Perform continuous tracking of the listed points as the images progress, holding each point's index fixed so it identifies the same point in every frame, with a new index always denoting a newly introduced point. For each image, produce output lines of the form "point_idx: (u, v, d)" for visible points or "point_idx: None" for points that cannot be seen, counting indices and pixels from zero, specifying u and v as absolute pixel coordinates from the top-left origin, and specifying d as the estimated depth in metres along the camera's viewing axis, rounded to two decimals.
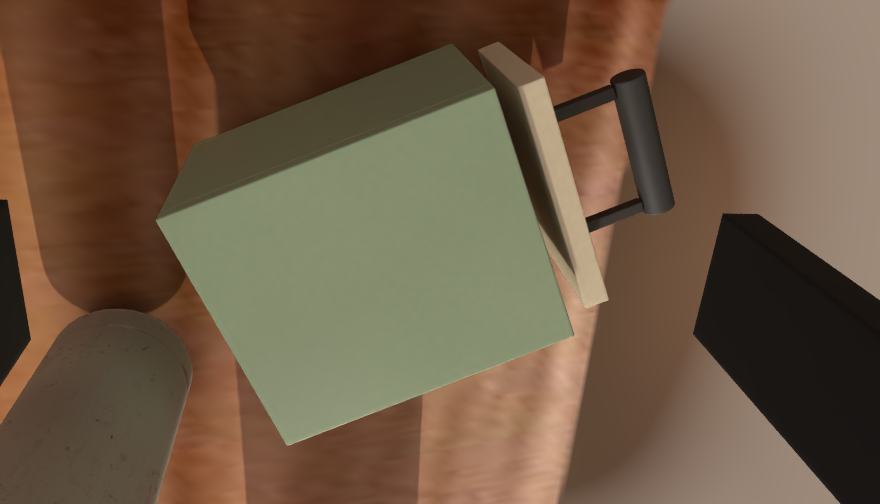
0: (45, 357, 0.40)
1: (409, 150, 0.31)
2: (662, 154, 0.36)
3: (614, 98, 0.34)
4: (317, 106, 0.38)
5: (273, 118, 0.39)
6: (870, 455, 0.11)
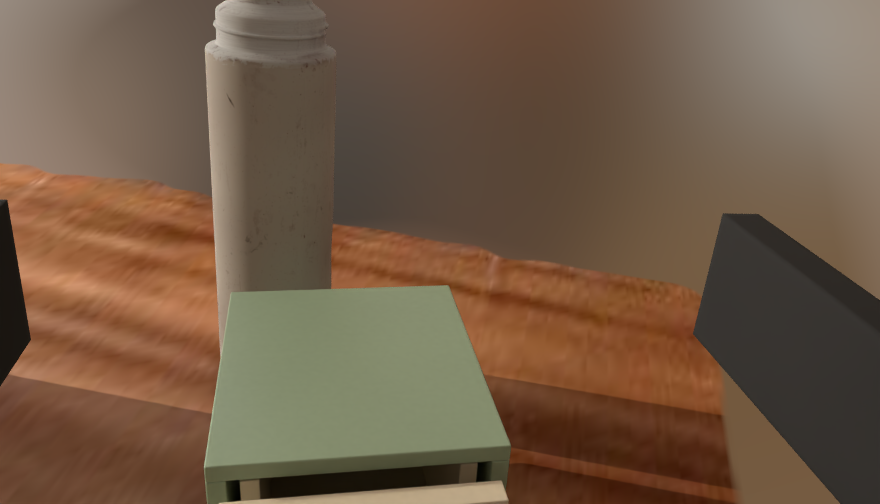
0: None
1: (465, 390, 0.35)
2: None
3: None
4: None
5: None
6: (870, 455, 0.11)
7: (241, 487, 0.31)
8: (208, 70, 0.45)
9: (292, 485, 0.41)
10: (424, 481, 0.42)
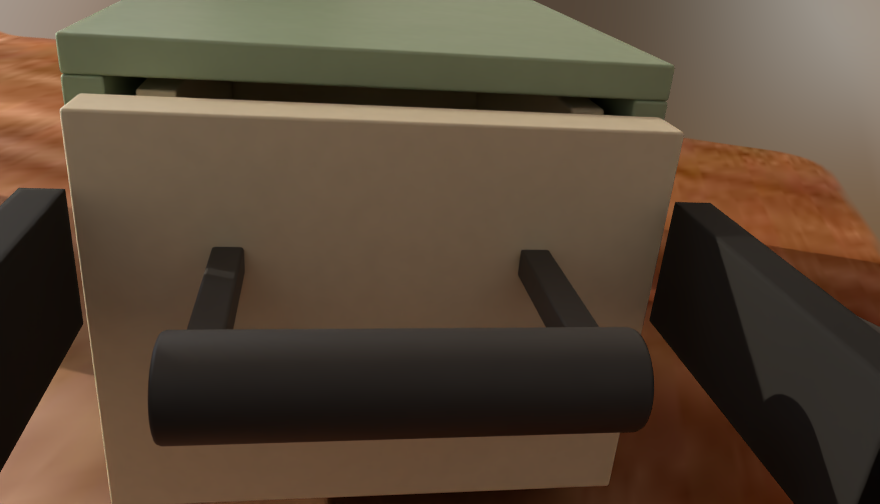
0: None
1: (569, 33, 0.20)
2: (369, 377, 0.10)
3: None
4: None
5: None
6: (800, 431, 0.11)
7: None
8: None
9: None
10: None
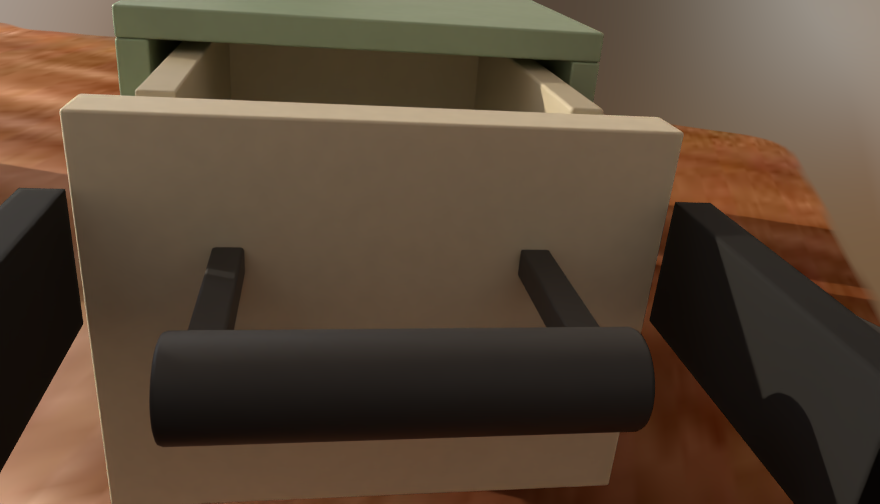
0: None
1: (525, 11, 0.24)
2: (370, 378, 0.10)
3: None
4: None
5: None
6: (800, 431, 0.11)
7: None
8: None
9: None
10: None
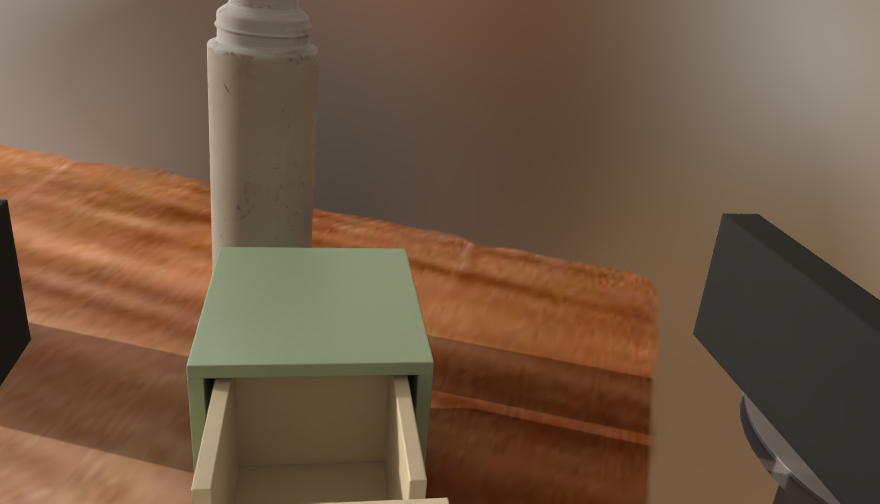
0: None
1: (404, 323, 0.43)
2: None
3: None
4: None
5: None
6: (870, 455, 0.11)
7: (192, 495, 0.32)
8: (209, 62, 0.54)
9: (256, 495, 0.42)
10: (386, 496, 0.43)
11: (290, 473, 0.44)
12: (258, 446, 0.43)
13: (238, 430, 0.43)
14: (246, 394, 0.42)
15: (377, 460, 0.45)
